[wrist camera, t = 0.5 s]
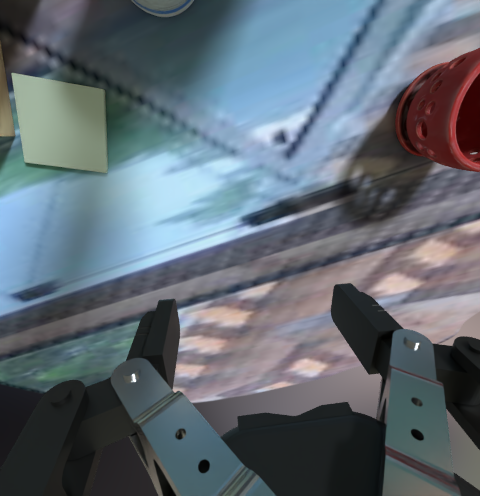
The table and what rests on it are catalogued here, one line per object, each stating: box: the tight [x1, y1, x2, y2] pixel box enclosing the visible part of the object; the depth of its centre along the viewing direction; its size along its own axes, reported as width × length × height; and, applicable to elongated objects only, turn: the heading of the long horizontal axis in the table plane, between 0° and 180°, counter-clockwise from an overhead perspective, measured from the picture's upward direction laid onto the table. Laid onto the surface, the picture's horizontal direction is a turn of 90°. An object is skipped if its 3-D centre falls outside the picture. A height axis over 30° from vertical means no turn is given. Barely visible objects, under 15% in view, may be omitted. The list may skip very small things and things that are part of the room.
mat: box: [11, 73, 108, 173], centre depth 33 cm, size 10×10×1 cm
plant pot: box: [395, 48, 480, 172], centre depth 33 cm, size 13×13×12 cm
